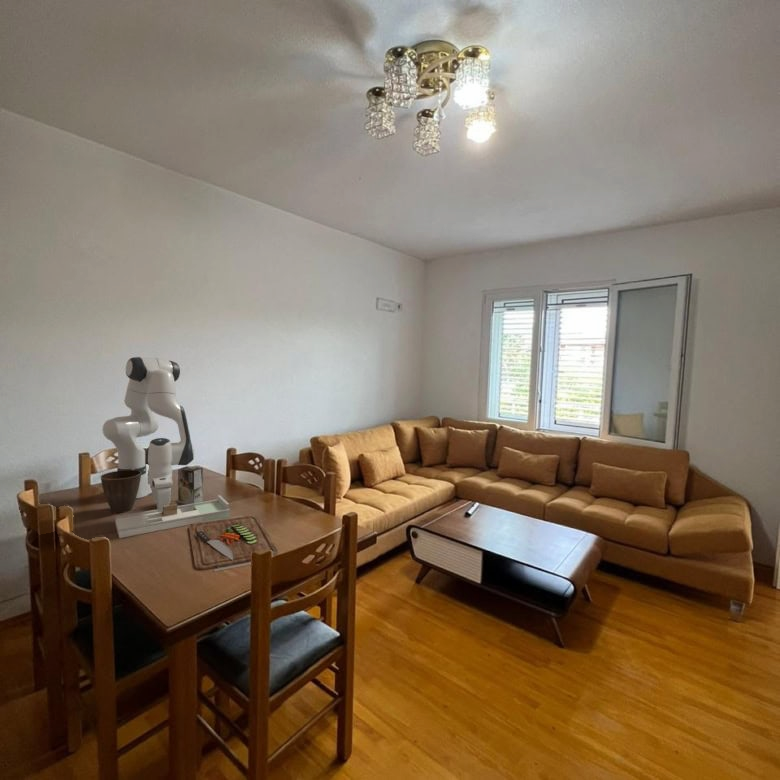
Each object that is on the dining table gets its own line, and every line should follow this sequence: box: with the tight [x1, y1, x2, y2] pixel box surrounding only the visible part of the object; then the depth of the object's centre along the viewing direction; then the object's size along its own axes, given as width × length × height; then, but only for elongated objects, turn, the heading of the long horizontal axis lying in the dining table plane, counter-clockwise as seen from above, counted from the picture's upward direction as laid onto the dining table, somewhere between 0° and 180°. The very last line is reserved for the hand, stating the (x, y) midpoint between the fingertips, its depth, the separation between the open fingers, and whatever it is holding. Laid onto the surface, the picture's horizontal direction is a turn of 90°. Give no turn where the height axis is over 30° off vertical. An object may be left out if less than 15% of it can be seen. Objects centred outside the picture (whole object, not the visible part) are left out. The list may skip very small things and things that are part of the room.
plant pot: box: [100, 470, 141, 514], centre depth 182 cm, size 15×15×16 cm
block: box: [162, 500, 178, 516], centre depth 175 cm, size 5×5×4 cm
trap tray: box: [115, 494, 231, 539], centre depth 173 cm, size 16×40×5 cm, turn 128°
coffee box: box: [177, 465, 204, 505], centre depth 196 cm, size 9×6×16 cm
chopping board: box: [188, 515, 279, 573], centre depth 157 cm, size 45×27×3 cm, turn 29°
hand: (160, 511), depth 173 cm, fingers closed, pressing on block
